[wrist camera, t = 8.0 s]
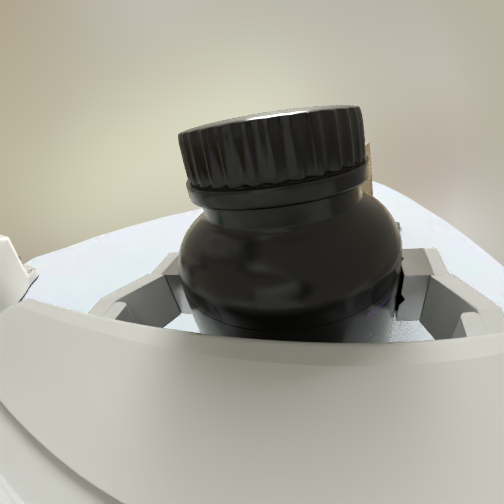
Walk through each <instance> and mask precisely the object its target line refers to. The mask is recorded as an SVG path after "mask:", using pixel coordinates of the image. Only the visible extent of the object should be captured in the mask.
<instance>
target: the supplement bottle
mask: <svg viewBox="0 0 504 504" xmlns="http://www.w3.org/2000/svg"><path fill="white" fill-rule="evenodd" d="M178 140H179V145H180V150H181V154H182V158H183V162H184V166H185V170H186V173H187V177H188V180H187V182H186V186H187V190H188V193H189V197H190V199H191V201H192V202H193V203H194V204H195V205H197V206H200V207H203V210H204V212H203V213H202V214H201V215H200V216H199V217H198V218H197V219H196V220H195V221H194V222H193V224H192V225H191V226H190V228H189V229H188V231H187V233H186V234H185V236H184V238H183V241H182V244H181V247H180V251H179V258H178V273H179V277H180V281H181V284H182V287H183V291H184V293H185V296H186V299H187V301H188V304H189V306H190V309H191V311H192V314H193V316H194V319H195V321H196V323H197V326H198V328H199V331H200V333H202V334H210V335H219V336H228V337H238V338H249V339H261V340H276V341H294V342H319V343H388V342H389V338H390V333H391V328H392V323H393V318H394V312H395V306H396V300H397V294H398V287H399V280H400V272H401V263H402V240H401V235H400V232H399V229H398V227H397V224H396V222H395V221H394V219H393V217H392V215H391V214H390V212H389V211H388V210H387V208H386V207H385V206H384V205H383V204H382V203H381V202H380V201H378V200H377V199H376V198H374V197H373V196H372V195H370V194H368V193H367V192H365V191H363V190H361V185H362V184H364V183H365V182H366V181H367V180H368V179H369V177H370V167H369V157H368V155H367V154H366V148H365V137H364V127H363V119H362V113H361V110H360V107H359V106H351V105H349V106H348V105H336V106H335V105H332V106H315V107H305V108H296V109H295V108H294V109H286V110H278V111H271V112H265V113H258V114H253V115H247V116H242V117H237V118H232V119H227V120H223V121H218V122H215V123H210V124H206V125H203V126H199V127H195V128H192V129H189V130H186V131H184V132H181V133H180V134H178Z"/></svg>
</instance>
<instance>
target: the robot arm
mask: <svg viewBox="0 0 504 504" xmlns="http://www.w3.org/2000/svg"><path fill="white" fill-rule="evenodd" d="M178 258H179V252H175V253H169V254H168V256H167V257H166V258H165V259H164V260H163V261H162V262H161V263H160V264H159V265H158V267H157V268H156V269H155V270H154V271H153V272H152V273H151V274H147V275H145V276H143V277H141V278H140V279H138V280H136V281H134V282H132V283H130V284H128V285H126V286H124V287H122V288H120V289H118V290H116V291H114V292H112V293H111V294H109V295H107V296H105V297H103V298H101V299H100V300H99V301H98V302H97V304H96V305H95V306H94V307H93V308H92V309H91V310H90V311H89V313H88V314H87V313H82V312H78V311H74V310H70V309H66V308H62V307H58V306H54V305H50V304H47V303H43V302H39V301H36V300H33V299H26V300H23V301H20V299H21V298H22V297H23V295H24V294H25V293H26V291H27V289H28V288H29V286H30V284H31V283H32V282H33V281H34V280H35V279H36V278H37V277H38V275H39V273H38V271H37V270H36V269H35V268H32V267H29V266H26V265H23V264H22V263H21V259H20V257H19V256H18V255H17V253H16V251H15V250H14V247H13V245H12V243H11V241H10V239H9V237H6V236H4V235H0V504H504V313H503V311H502V309H501V308H500V307H499V306H497V305H496V304H495V303H493V302H492V301H491V300H489V299H488V298H486V297H485V296H484V295H482V294H481V293H479V292H478V291H477V290H475V289H474V288H472V287H471V286H469V285H468V284H466V283H465V282H463V281H462V280H460V279H459V278H457V277H456V276H454V275H449V273H448V271H447V269H446V267H445V265H444V263H443V261H442V259H441V257H440V255H439V253H438V251H437V249H436V248H419V249H402V263H401V272H400V280H399V287H398V294H397V300H396V306H395V315H396V321H412V320H420V323H421V324H422V325H423V326H424V327H425V328H426V329H427V331H428V332H429V333H430V334H431V335H432V336H433V338H434V339H435V340H429V341H412V342H388V343H319V342H294V341H276V340H261V339H249V338H238V337H228V336H219V335H210V334H202V333H194V332H186V331H179V330H172V329H166V328H163V327H165V326H166V325H167V324H168V323H170V322H171V321H172V320H174V319H175V318H176V317H178V316H179V315H180V314H181V313H186V314H192V311H191V309H190V306H189V304H188V301H187V299H186V296H185V293H184V291H183V287H182V284H181V281H180V277H179V273H178ZM19 301H20V302H19Z"/></svg>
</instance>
